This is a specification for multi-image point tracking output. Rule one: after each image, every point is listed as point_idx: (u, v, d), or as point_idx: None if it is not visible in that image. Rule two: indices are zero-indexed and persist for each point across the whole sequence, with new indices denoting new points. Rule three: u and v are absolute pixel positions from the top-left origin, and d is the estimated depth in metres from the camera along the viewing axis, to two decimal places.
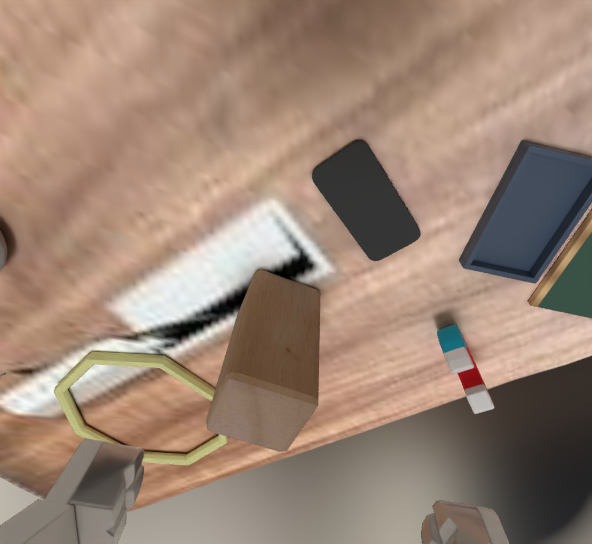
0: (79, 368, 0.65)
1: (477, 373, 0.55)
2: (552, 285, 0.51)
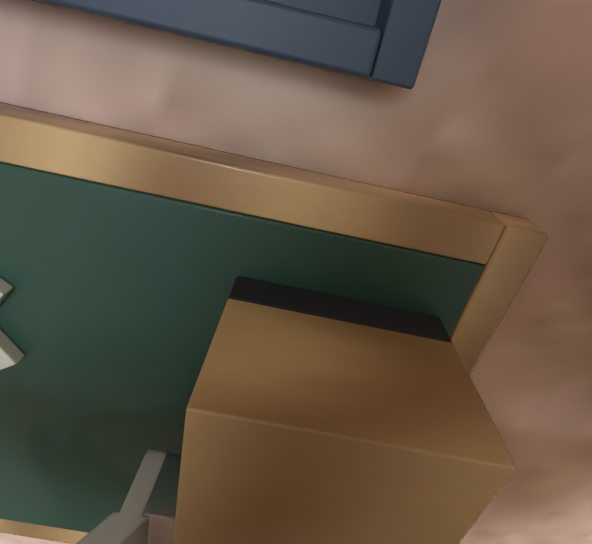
0: None
1: None
2: None
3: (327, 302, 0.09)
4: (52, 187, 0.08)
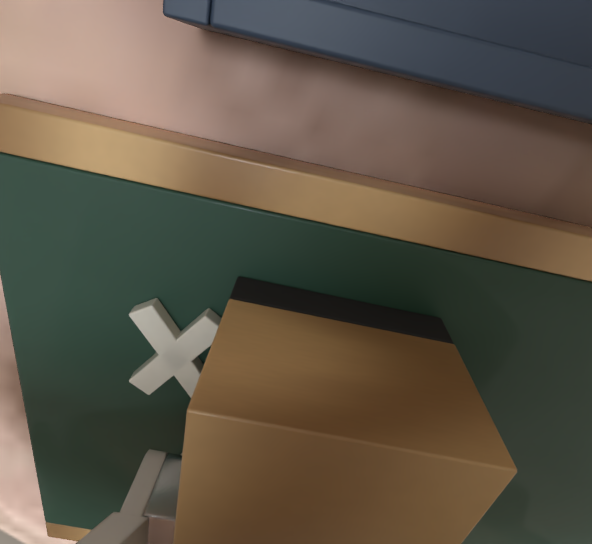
0: None
1: None
2: (161, 186, 0.08)
3: (328, 303, 0.09)
4: (577, 292, 0.09)
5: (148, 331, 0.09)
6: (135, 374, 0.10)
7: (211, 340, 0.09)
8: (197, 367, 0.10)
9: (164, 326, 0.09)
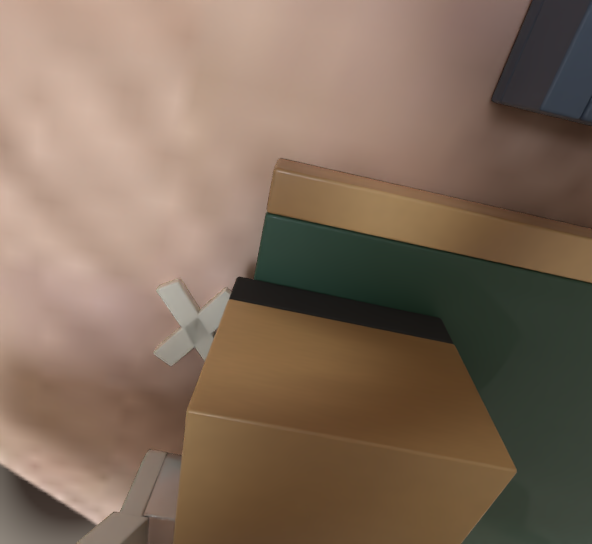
0: None
1: None
2: (432, 248, 0.08)
3: (328, 303, 0.09)
4: None
5: (173, 306, 0.10)
6: (159, 347, 0.11)
7: None
8: None
9: (188, 301, 0.10)
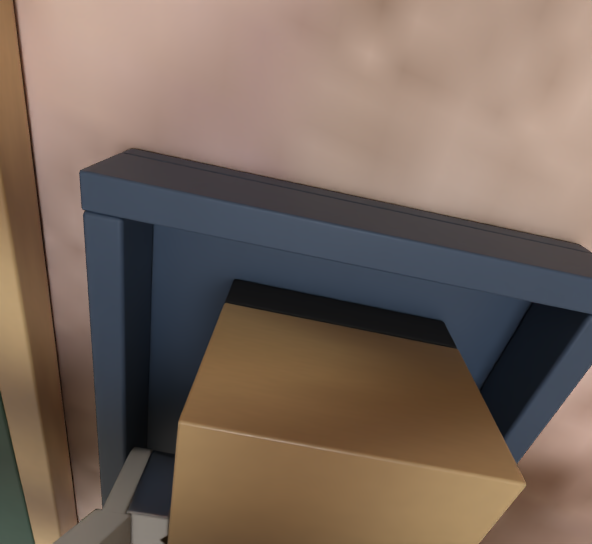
0: None
1: None
2: None
3: (327, 306, 0.08)
4: (2, 451, 0.11)
5: None
6: None
7: None
8: None
9: None
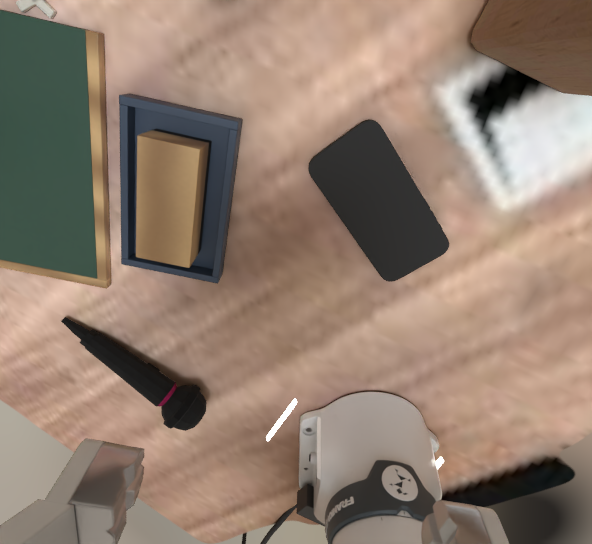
0: None
1: None
2: (88, 82, 0.32)
3: (178, 134, 0.33)
4: (89, 192, 0.36)
5: None
6: None
7: (45, 12, 0.30)
8: (32, 5, 0.30)
9: None
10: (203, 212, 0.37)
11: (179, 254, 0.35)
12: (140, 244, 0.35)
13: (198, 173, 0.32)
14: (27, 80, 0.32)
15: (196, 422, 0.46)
